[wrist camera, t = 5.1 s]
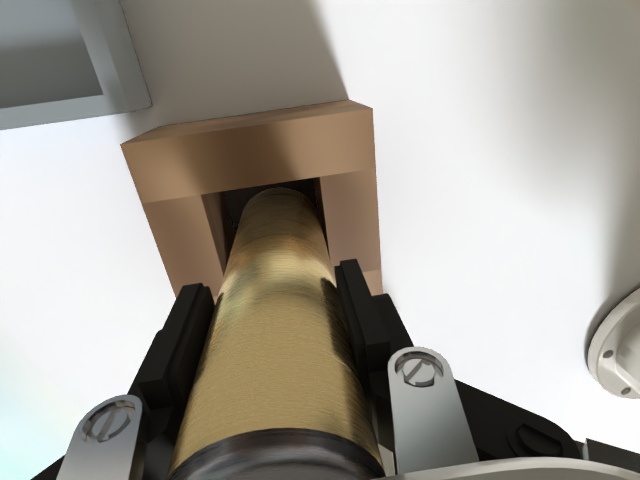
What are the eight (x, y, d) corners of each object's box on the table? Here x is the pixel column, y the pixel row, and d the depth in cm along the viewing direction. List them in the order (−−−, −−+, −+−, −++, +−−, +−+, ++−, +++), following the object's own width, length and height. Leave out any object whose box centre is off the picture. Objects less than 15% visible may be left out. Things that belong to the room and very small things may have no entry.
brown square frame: (349, 99, 19) (372, 108, 14) (362, 263, 23) (383, 309, 19) (158, 126, 18) (120, 144, 14) (208, 288, 23) (191, 341, 18)
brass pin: (314, 181, 17) (401, 473, 5) (323, 253, 19) (407, 609, 6) (232, 193, 17) (93, 528, 4) (249, 265, 19) (183, 652, 6)
